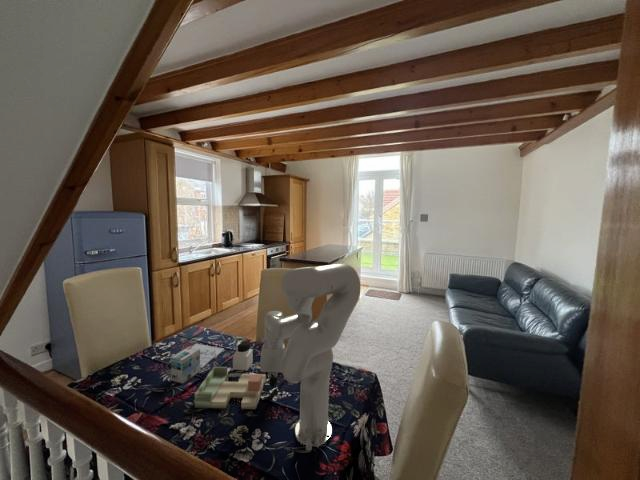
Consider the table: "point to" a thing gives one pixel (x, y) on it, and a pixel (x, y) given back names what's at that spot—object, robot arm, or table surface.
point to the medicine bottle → (242, 356)
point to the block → (255, 383)
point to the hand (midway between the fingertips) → (273, 385)
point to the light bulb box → (185, 364)
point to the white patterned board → (207, 353)
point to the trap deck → (226, 390)
